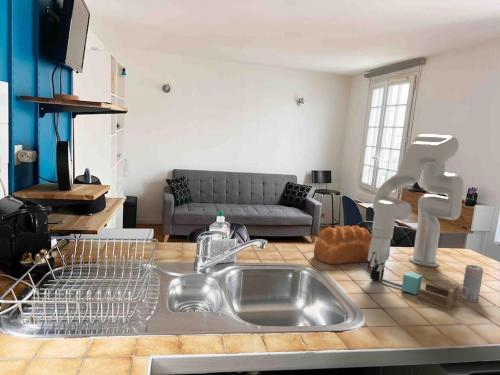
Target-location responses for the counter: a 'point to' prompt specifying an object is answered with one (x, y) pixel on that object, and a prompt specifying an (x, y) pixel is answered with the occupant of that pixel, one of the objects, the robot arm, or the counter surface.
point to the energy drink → (472, 283)
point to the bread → (343, 245)
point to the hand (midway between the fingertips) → (376, 278)
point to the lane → (439, 295)
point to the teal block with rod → (406, 282)
